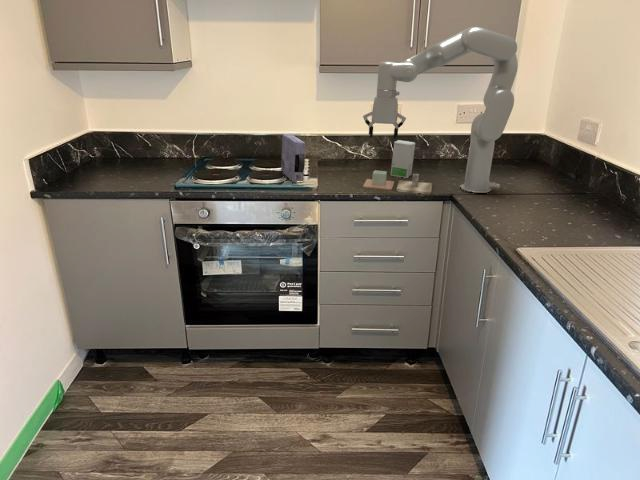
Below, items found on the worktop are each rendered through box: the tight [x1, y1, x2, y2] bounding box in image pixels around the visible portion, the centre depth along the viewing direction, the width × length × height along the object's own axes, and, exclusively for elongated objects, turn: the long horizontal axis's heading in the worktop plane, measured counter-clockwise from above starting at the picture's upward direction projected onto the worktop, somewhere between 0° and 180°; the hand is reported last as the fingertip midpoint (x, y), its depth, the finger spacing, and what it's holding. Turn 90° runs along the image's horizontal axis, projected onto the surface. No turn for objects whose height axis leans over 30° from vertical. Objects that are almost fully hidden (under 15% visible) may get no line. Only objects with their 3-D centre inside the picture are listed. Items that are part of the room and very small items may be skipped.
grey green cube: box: [372, 169, 388, 186], centre depth 210 cm, size 5×5×5 cm
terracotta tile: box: [362, 178, 395, 191], centre depth 211 cm, size 12×12×1 cm
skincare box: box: [390, 139, 416, 179], centre depth 224 cm, size 8×7×16 cm
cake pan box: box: [280, 133, 306, 183], centre depth 215 cm, size 19×5×18 cm, turn 22°
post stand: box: [395, 173, 433, 196], centre depth 207 cm, size 14×14×6 cm
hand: (382, 137), depth 204 cm, fingers open, 9 cm apart
